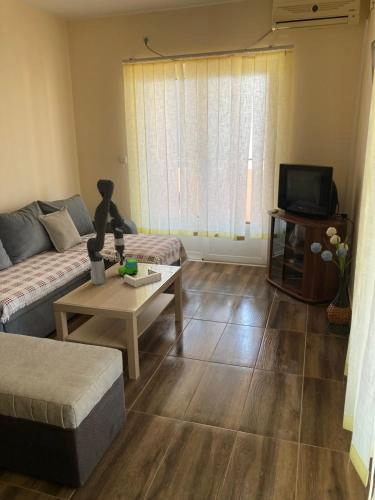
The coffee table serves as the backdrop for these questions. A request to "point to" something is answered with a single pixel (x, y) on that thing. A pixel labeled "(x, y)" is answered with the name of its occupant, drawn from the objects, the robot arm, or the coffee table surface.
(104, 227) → the robot arm
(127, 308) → the coffee table surface
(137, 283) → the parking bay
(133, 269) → the toy car
